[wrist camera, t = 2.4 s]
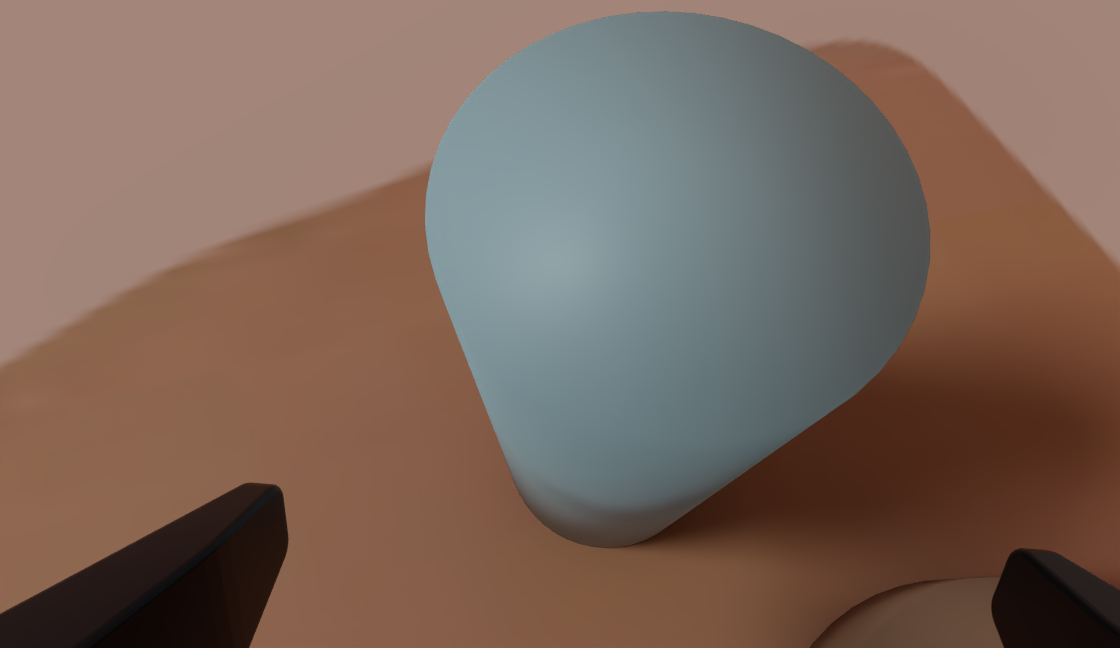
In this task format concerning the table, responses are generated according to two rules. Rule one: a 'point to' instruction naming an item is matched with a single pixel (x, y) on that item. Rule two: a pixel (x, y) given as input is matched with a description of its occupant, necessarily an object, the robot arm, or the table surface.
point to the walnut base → (920, 617)
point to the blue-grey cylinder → (668, 259)
